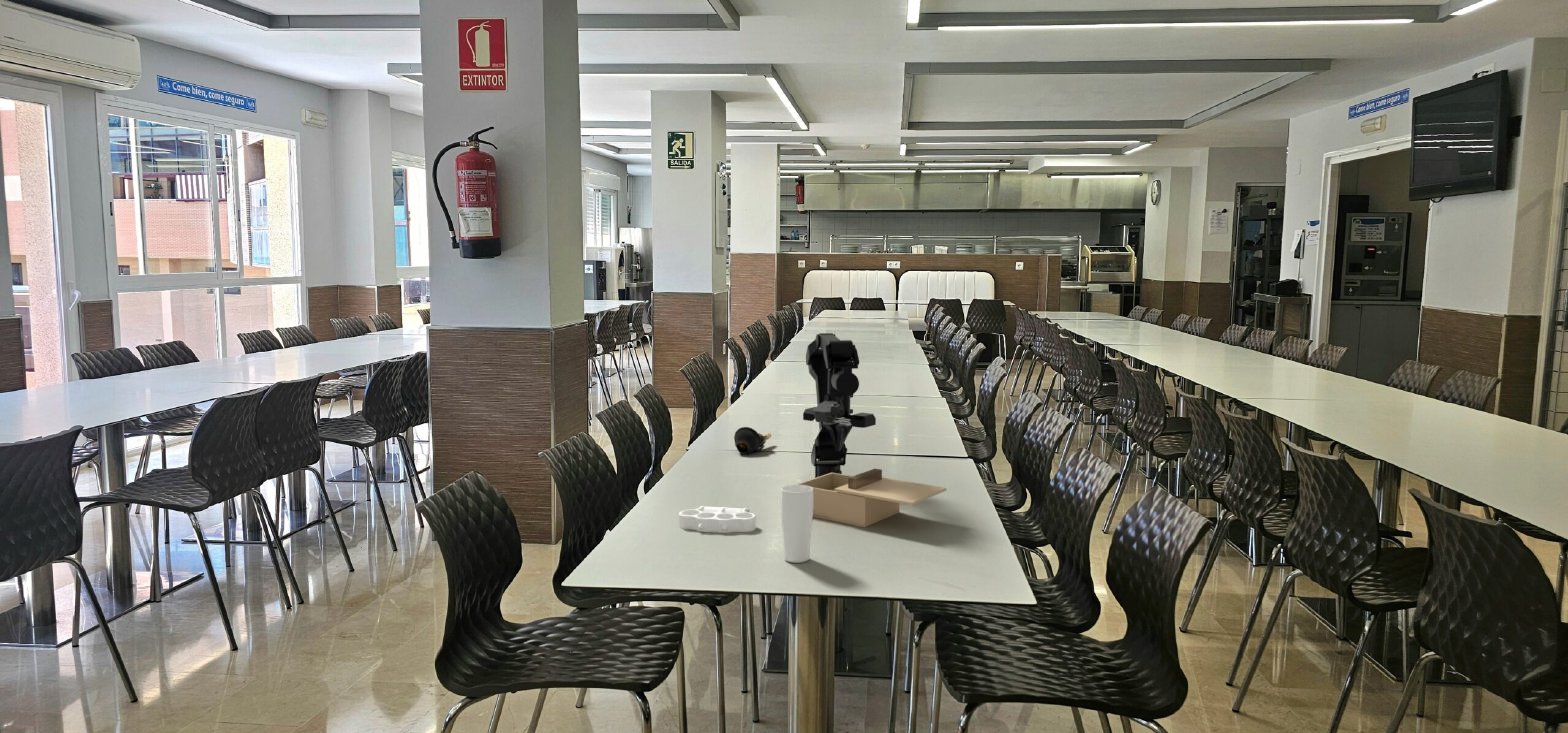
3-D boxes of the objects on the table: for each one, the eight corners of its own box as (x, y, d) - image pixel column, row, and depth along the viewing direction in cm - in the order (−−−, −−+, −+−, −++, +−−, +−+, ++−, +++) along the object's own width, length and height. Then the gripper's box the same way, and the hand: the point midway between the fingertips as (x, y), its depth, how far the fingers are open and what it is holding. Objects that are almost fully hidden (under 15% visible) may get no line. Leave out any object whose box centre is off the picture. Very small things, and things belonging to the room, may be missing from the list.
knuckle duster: (762, 519, 222) (750, 538, 207) (689, 515, 225) (672, 533, 210) (762, 506, 221) (750, 523, 207) (689, 502, 224) (672, 519, 210)
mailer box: (794, 512, 226) (794, 484, 225) (831, 499, 239) (831, 472, 238) (864, 527, 214) (865, 497, 213) (899, 512, 227) (900, 484, 226)
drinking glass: (779, 554, 194) (779, 484, 193) (811, 554, 195) (811, 484, 193) (781, 565, 188) (782, 493, 186) (815, 564, 188) (815, 492, 186)
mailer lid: (834, 491, 218) (834, 478, 218) (871, 477, 231) (871, 465, 231) (912, 505, 206) (912, 491, 205) (946, 490, 219) (946, 477, 218)
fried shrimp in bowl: (723, 440, 291) (741, 413, 306) (740, 469, 294) (756, 441, 309) (748, 432, 287) (764, 405, 302) (764, 461, 290) (780, 433, 305)
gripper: (790, 390, 233) (790, 451, 235) (853, 397, 222) (852, 461, 224) (815, 385, 242) (815, 444, 244) (877, 391, 231) (876, 453, 233)
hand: (838, 450), depth 236 cm, fingers closed
